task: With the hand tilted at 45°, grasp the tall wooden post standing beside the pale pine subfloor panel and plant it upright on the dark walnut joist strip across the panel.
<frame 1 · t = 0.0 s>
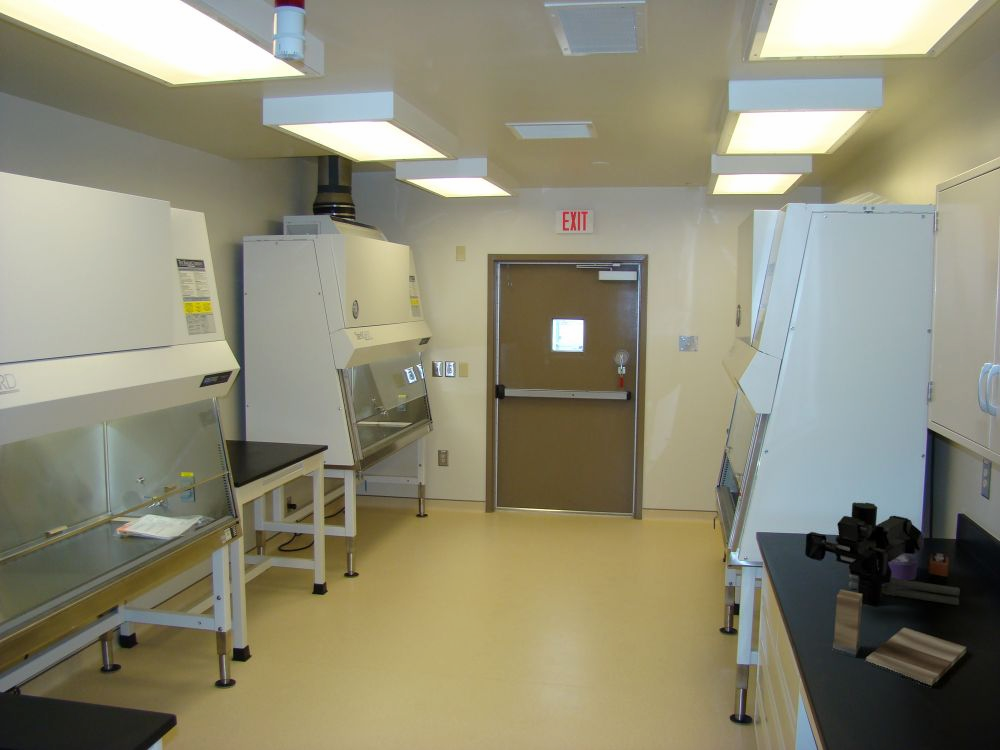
hand: (829, 561, 178), 17 cm above the countertop, tool horizontal, fingers open, 9 cm apart
tape roll: (892, 574, 216), on the countertop
tall wooden post: (845, 650, 169), on the countertop
metal rod assembly: (901, 598, 200), on the countertop
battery: (936, 592, 204), on the countertop
subfloor panel: (916, 658, 166), on the countertop
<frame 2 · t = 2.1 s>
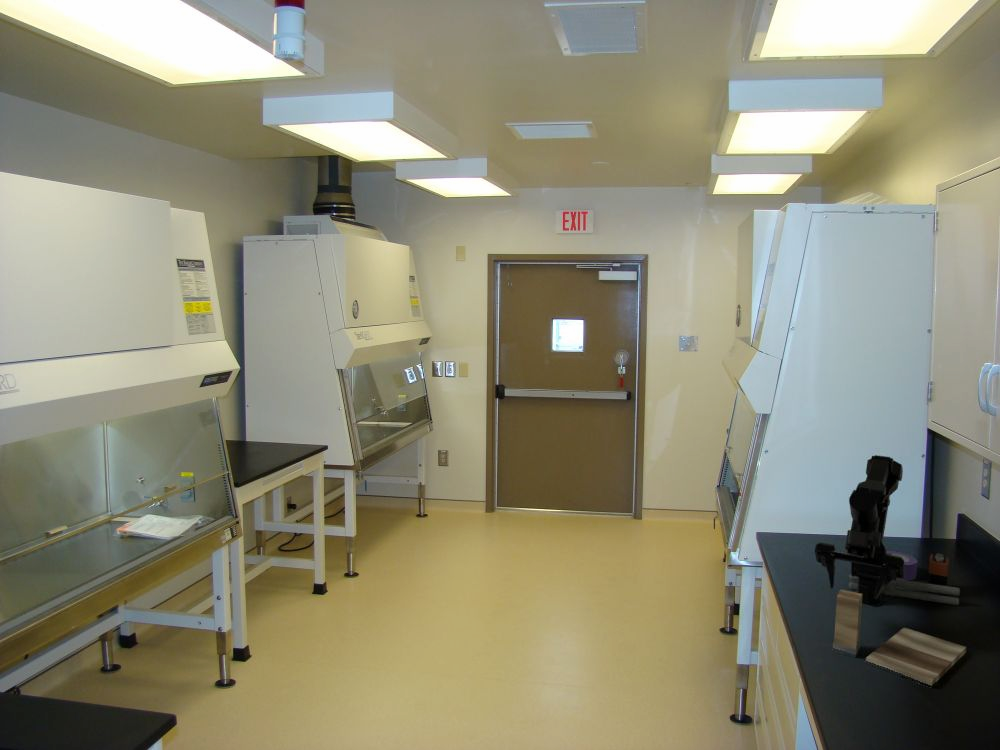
hand: (853, 592, 172), 12 cm above the countertop, tool tilted 45°, fingers open, 9 cm apart
nothing on the countertop moved.
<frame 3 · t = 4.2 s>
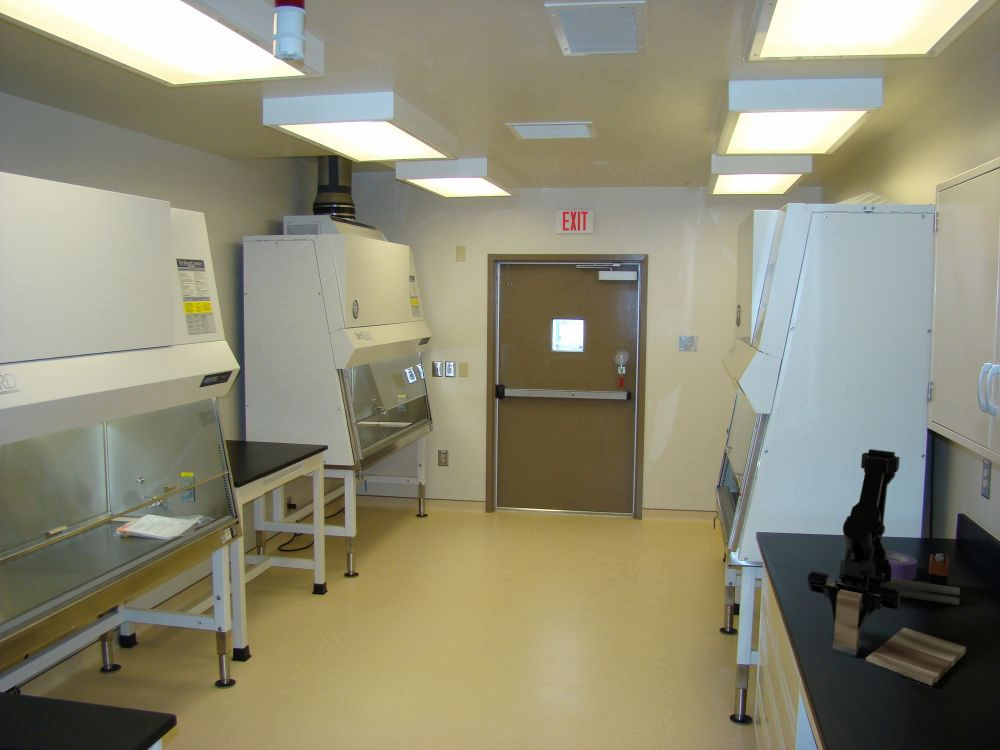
hand: (846, 624, 167), 7 cm above the countertop, tool tilted 45°, fingers closed on tall wooden post, 4 cm apart
tall wooden post: (845, 650, 169), on the countertop, touching gripper
everything else where it was.
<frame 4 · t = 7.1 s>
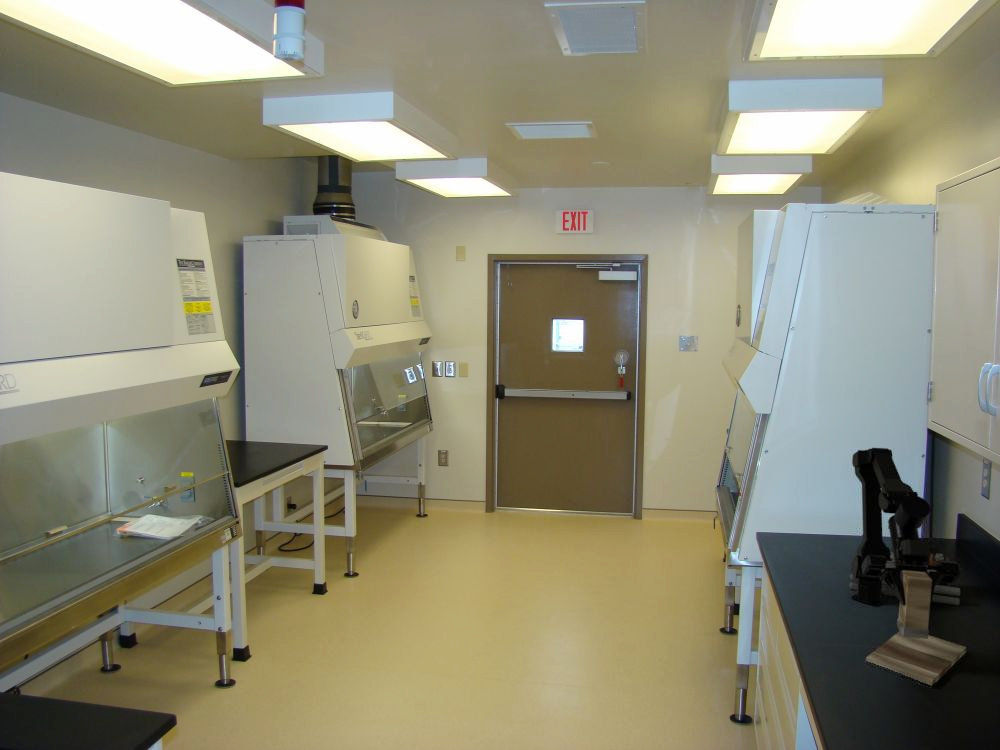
hand: (916, 606, 161), 13 cm above the countertop, tool tilted 45°, fingers closed on tall wooden post, 4 cm apart
tall wooden post: (912, 632, 163), point 7 cm above the countertop, touching gripper
everything else where it was.
when the fingers open (9 cm above the countertop, at t = 8.4 s): tall wooden post drops 1 cm, resting on subfloor panel.
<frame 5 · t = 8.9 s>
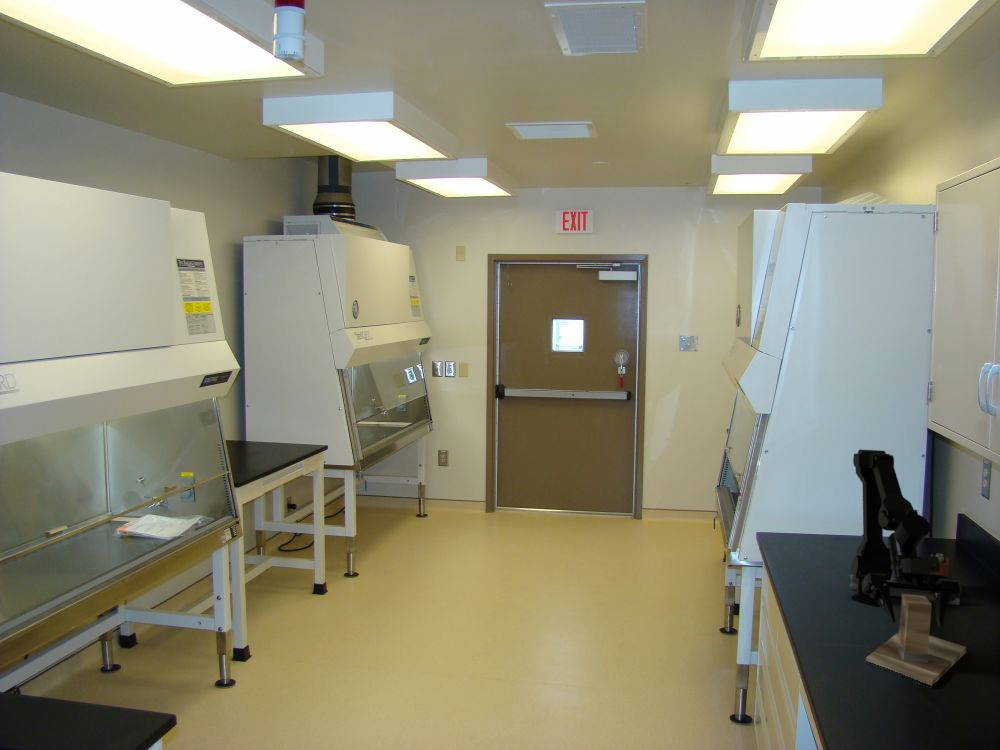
hand: (917, 624, 161), 9 cm above the countertop, tool tilted 45°, fingers open, 9 cm apart
tall wooden post: (912, 656, 164), point 1 cm above the countertop, touching subfloor panel
everything else where it was.
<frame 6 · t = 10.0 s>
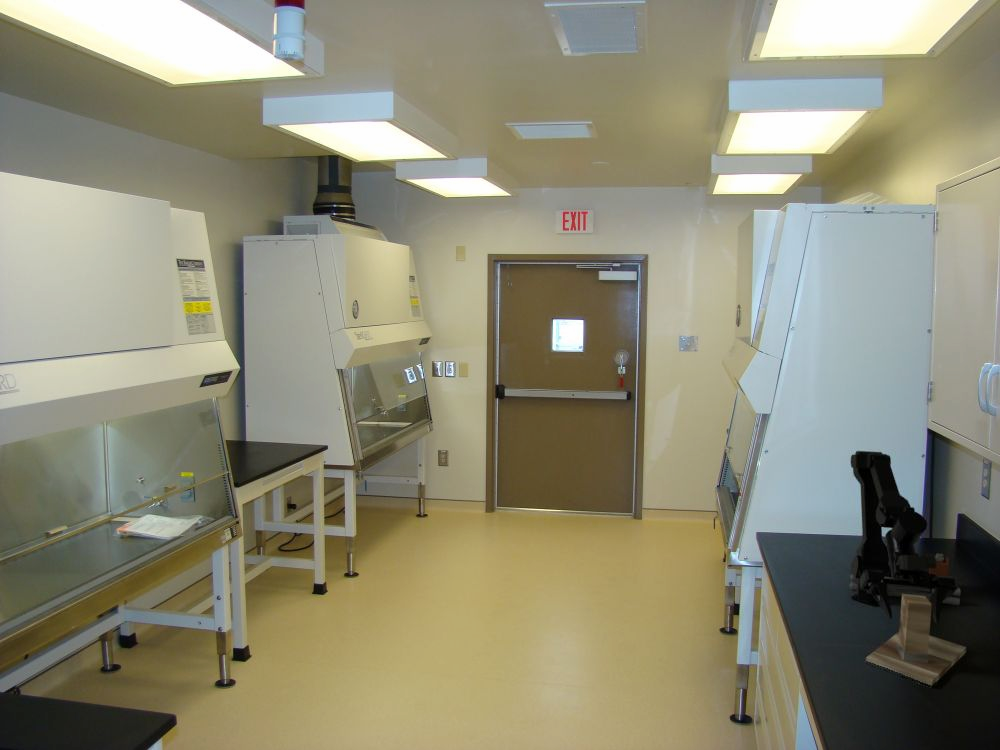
hand: (913, 620, 164), 9 cm above the countertop, tool tilted 45°, fingers open, 9 cm apart
nothing on the countertop moved.
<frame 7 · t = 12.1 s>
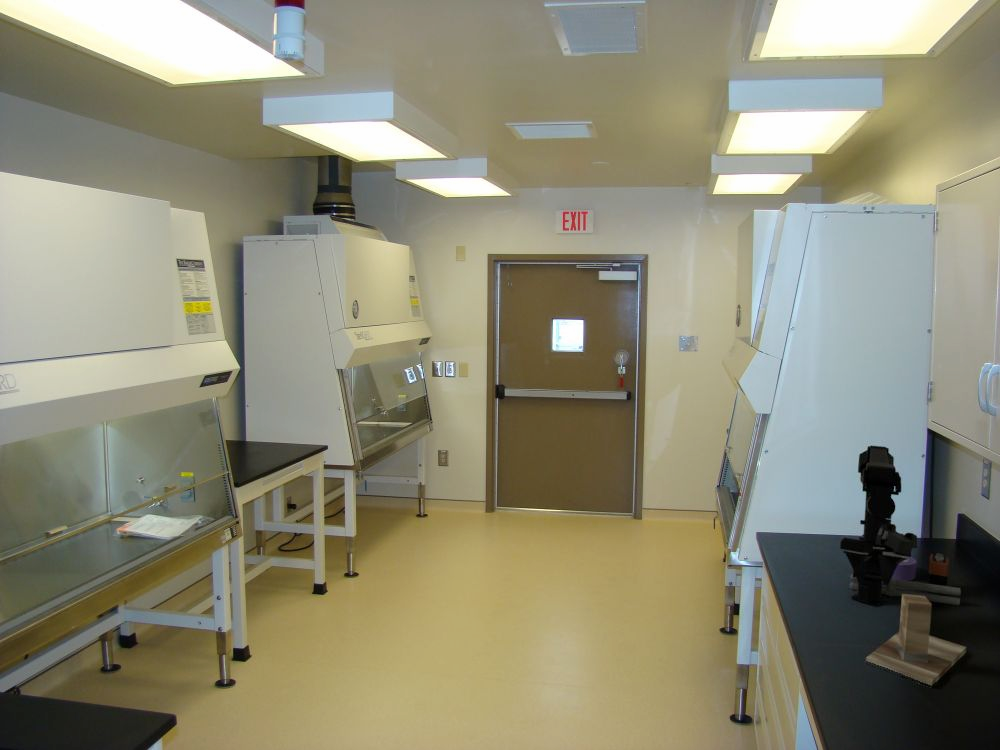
hand: (873, 584, 179), 11 cm above the countertop, tool pointing down, fingers open, 9 cm apart
nothing on the countertop moved.
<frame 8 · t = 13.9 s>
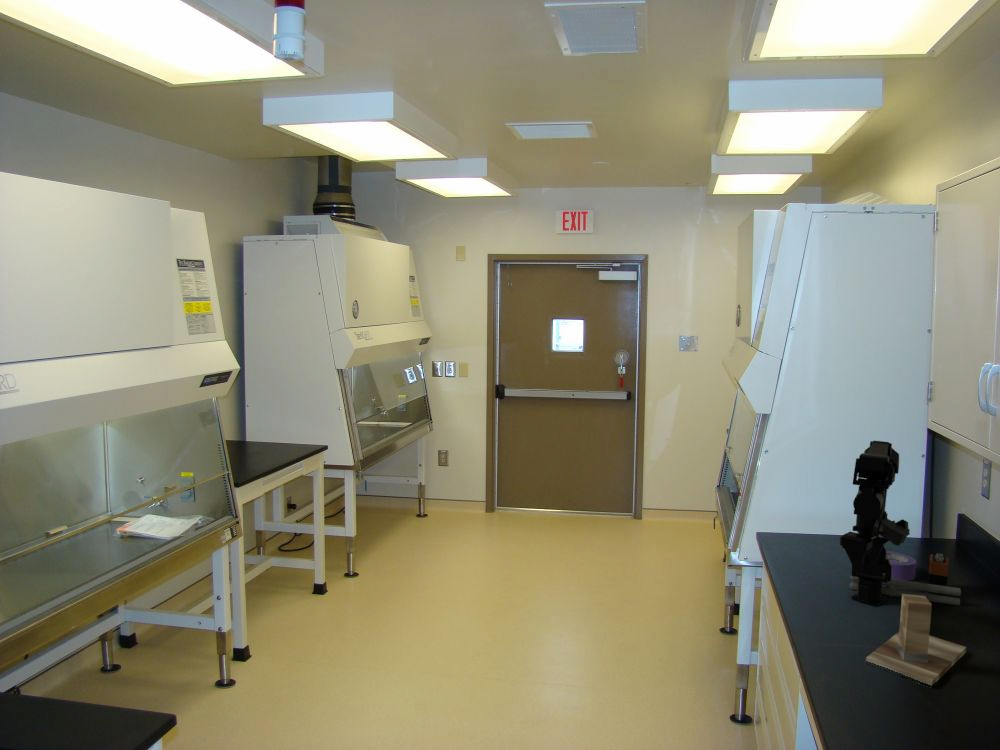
hand: (865, 569, 183), 13 cm above the countertop, tool pointing down, fingers open, 9 cm apart
nothing on the countertop moved.
at the end: tall wooden post inside the target area (0.0 cm from its centre), point 1.5 cm above the countertop; tall wooden post tilted 0°; the gripper is holding nothing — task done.
